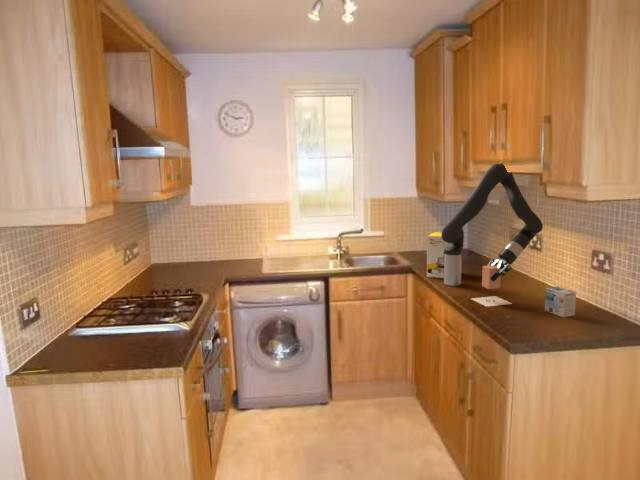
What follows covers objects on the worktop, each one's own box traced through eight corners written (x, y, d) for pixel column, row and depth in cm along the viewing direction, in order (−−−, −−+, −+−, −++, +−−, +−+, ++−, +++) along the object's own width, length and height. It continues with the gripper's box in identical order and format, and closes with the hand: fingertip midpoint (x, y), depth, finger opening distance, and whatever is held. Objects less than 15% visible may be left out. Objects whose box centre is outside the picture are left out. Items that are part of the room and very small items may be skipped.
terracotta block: (481, 285, 227) (482, 265, 225) (492, 284, 228) (493, 265, 227) (488, 289, 221) (489, 268, 220) (500, 288, 223) (500, 267, 221)
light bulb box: (544, 310, 210) (545, 287, 208) (555, 308, 212) (556, 285, 211) (563, 317, 200) (565, 293, 199) (575, 315, 203) (576, 291, 201)
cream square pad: (470, 299, 231) (470, 298, 231) (495, 296, 234) (495, 295, 234) (486, 307, 218) (486, 306, 217) (512, 304, 221) (512, 303, 220)
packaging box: (459, 273, 287) (460, 233, 283) (454, 279, 273) (454, 236, 269) (433, 271, 295) (433, 232, 291) (426, 276, 280) (426, 235, 276)
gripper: (497, 245, 230) (475, 270, 230) (515, 250, 216) (491, 277, 216) (506, 254, 232) (484, 279, 232) (525, 260, 218) (501, 287, 218)
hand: (488, 278), depth 224 cm, fingers closed on terracotta block, 6 cm apart
